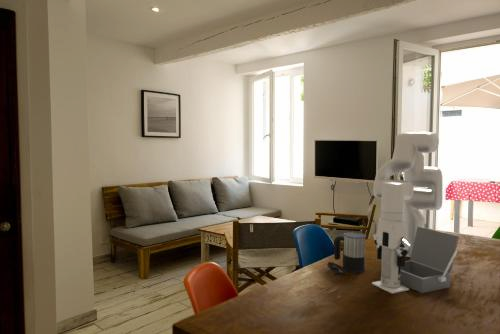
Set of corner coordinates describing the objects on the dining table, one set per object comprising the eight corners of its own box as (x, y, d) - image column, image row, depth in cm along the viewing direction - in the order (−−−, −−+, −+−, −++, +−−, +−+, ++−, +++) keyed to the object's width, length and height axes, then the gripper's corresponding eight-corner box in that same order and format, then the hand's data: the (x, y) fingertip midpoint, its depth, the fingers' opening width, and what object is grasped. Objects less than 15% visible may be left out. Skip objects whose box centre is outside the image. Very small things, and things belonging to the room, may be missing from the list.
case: (384, 276, 148) (385, 230, 147) (417, 270, 156) (418, 226, 155) (425, 294, 131) (427, 241, 130) (460, 286, 138) (462, 236, 137)
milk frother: (367, 267, 159) (367, 233, 159) (361, 279, 145) (361, 241, 144) (333, 263, 166) (334, 230, 165) (324, 274, 151) (325, 237, 151)
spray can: (401, 289, 134) (403, 234, 133) (381, 287, 135) (383, 233, 134) (398, 282, 140) (400, 229, 139) (379, 281, 142) (381, 228, 141)
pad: (371, 284, 141) (371, 282, 141) (388, 280, 144) (388, 279, 144) (392, 293, 132) (392, 291, 132) (408, 290, 135) (408, 288, 135)
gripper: (367, 212, 143) (366, 257, 144) (402, 221, 127) (401, 271, 128) (382, 211, 146) (381, 255, 147) (419, 219, 130) (417, 268, 131)
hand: (390, 262), depth 137 cm, fingers open, 9 cm apart
